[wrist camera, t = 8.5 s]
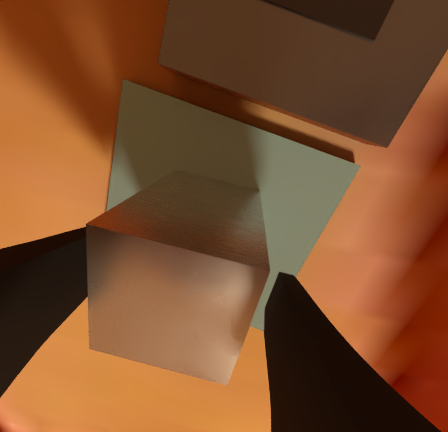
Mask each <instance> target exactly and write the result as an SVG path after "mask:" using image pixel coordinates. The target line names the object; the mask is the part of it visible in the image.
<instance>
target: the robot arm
mask: <svg viewBox="0 0 448 432" xmlns="http://www.w3.org/2000/svg"><path fill="white" fill-rule="evenodd" d="M87 296H88V282H87V245H86V227H83V228H79V229H76V230H72V231H68V232H65V233H61V234H57V235H54V236H50V237H46V238H43V239H39V240H35V241H31V242H27V243H23V244H19V245H15V246H11V247H7V248H2V249H0V398H1V396H2V395H3V394H4V392H5V391H6V390H7V388H8V387H9V386H10V384H11V383H12V382H13V380H14V379H15V378H16V377H17V375H18V374H19V373H20V372H21V370H22V369H23V368H24V367H25V365H26V364H27V363H28V362H29V360H30V359H31V358H32V357H33V355H34V354H35V353H36V352H37V350H38V349H39V348H40V347H41V346H42V344H43V343H44V342H45V341H46V340H47V339H48V338H49V337H50V335H51V334H52V333H53V332H54V331H55V330H56V329H57V328H58V327H59V326H60V325H61V324H62V323H63V322H64V321H65V320H66V319H67V318H68V317H69V315H70V314H71V313H72V312H73V311H74V310H75V309H76V308H77V307H78V306H79V305H80V304H81V303H82V302H83V301H84V300H85V299H86V297H87ZM264 338H265V349H266V359H267V369H268V379H269V389H270V402H271V432H441V431H440V430H439V429H437V428H436V427H435V426H434V425H433V424H432V423H431V422H429V421H428V420H427V419H426V418H425V417H424V416H423V415H421V414H420V413H419V412H418V411H417V410H416V409H415V408H414V407H413V406H412V405H410V404H409V403H408V402H407V401H406V400H405V399H404V398H403V397H402V396H401V395H400V394H398V393H397V392H396V391H395V390H394V389H393V388H392V387H391V386H390V385H389V384H388V383H387V382H386V381H385V380H384V379H383V378H382V377H381V376H380V375H379V374H378V373H377V372H376V371H375V370H374V369H373V368H372V367H371V366H370V365H369V364H368V363H367V362H366V361H365V360H364V359H363V358H362V357H361V356H360V355H359V354H358V353H357V352H356V351H355V350H354V349H353V347H352V346H351V345H350V344H349V343H348V342H347V341H346V340H345V338H344V337H343V336H342V335H341V334H340V333H339V332H338V330H337V329H336V328H335V327H334V326H333V325H332V323H331V322H330V321H329V320H328V318H327V317H326V316H325V315H324V313H323V312H322V311H321V310H320V308H319V307H318V306H317V305H316V303H315V302H314V301H313V299H312V298H311V297H310V295H309V294H308V293H307V291H306V290H305V289H304V288H303V286H302V285H301V284H300V282H299V281H298V280H297V279H296V277H295V276H294V275H291V274H287V273H283V272H279V273H278V276H277V278H276V281H275V283H274V286H273V288H272V291H271V293H270V296H269V298H268V301H267V303H266V306H265V312H264Z"/></svg>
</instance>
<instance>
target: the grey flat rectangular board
mask: <svg viewBox="0 0 448 432" xmlns="http://www.w3.org/2000/svg"><path fill="white" fill-rule="evenodd" d="M447 49H448V0H169V3H168V9H167V15H166V20H165V26H164V32H163V37H162V43H161V49H160V54H159V60H158V64H160V65H161V66H163V67H164V68H166V69H167V70H169V71H171V72H172V73H175V74H177V75H180V76H183V77H186V78H188V79H191V80H194V81H196V82H199V83H202V84H205V85H207V86H210V87H213V88H215V89H218V90H221V91H224V92H226V93H229V94H232V95H234V96H237V97H240V98H243V99H245V100H248V101H251V102H253V103H256V104H259V105H262V106H264V107H267V108H270V109H272V110H275V111H278V112H281V113H283V114H286V115H289V116H291V117H294V118H297V119H300V120H302V121H305V122H308V123H311V124H313V125H316V126H319V127H321V128H324V129H327V130H330V131H332V132H335V133H338V134H340V135H343V136H346V137H349V138H351V139H354V140H357V141H359V142H362V143H365V144H369V145H374V146H380V147H385V148H387V147H388V146H389V144H390V142H391V141H392V139H393V138H394V136H395V134H396V133H397V131H398V129H399V128H400V126H401V124H402V123H403V121H404V120H405V118H406V116H407V115H408V113H409V111H410V110H411V108H412V107H413V105H414V103H415V102H416V100H417V98H418V97H419V95H420V93H421V92H422V90H423V89H424V87H425V85H426V84H427V82H428V80H429V79H430V77H431V76H432V74H433V72H434V71H435V69H436V67H437V66H438V64H439V62H440V61H441V59H442V58H443V56H444V54H445V53H446V51H447Z"/></svg>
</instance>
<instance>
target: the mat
mask: <svg viewBox="0 0 448 432" xmlns="http://www.w3.org/2000/svg"><path fill="white" fill-rule="evenodd" d="M359 168H360V165H357V164H355V163H352V162H349V161H347V160H344V159H341V158H338V157H336V156H333V155H330V154H327V153H325V152H322V151H319V150H316V149H314V148H311V147H308V146H306V145H303V144H300V143H297V142H295V141H292V140H289V139H286V138H284V137H281V136H278V135H275V134H273V133H270V132H267V131H264V130H262V129H259V128H256V127H254V126H251V125H248V124H245V123H243V122H240V121H237V120H234V119H232V118H229V117H226V116H223V115H221V114H218V113H215V112H212V111H210V110H207V109H204V108H202V107H199V106H196V105H193V104H191V103H188V102H185V101H182V100H180V99H177V98H174V97H171V96H169V95H166V94H163V93H161V92H158V91H155V90H152V89H150V88H147V87H144V86H141V85H139V84H136V83H133V82H130V81H128V80H125V79H123V82H122V90H121V98H120V106H119V114H118V122H117V130H116V138H115V146H114V154H113V162H112V170H111V178H110V186H109V194H108V202H107V210H106V211H108V210H110V209H111V208H113V207H114V206H116V205H118V204H119V203H121V202H123V201H124V200H126V199H128V198H129V197H131V196H133V195H134V194H136V193H138V192H139V191H141V190H143V189H144V188H146V187H147V186H149V185H151V184H152V183H154V182H156V181H157V180H159V179H161V178H162V177H164V176H166V175H167V174H169V173H171V172H172V171H174V170H179V171H183V172H187V173H191V174H195V175H199V176H203V177H207V178H211V179H215V180H219V181H223V182H227V183H231V184H235V185H239V186H243V187H247V188H251V189H255V190H259V191H260V195H261V202H262V210H263V218H264V225H265V233H266V241H267V248H268V256H269V264H270V274H269V276H268V279H267V281H266V284H265V287H264V289H263V292H262V295H261V297H260V300H259V303H258V305H257V308H256V311H255V313H254V316H253V319H252V321H251V324H250V326H251V327H254V328H257V329H260V330H263V331H264V312H265V306H266V303H267V301H268V298H269V296H270V293H271V291H272V288H273V286H274V283H275V281H276V278H277V276H278V273H279V272H283V273H287V274H291V275H294V276H295V277H296V276H297V274H298V272H299V271H300V269H301V267H302V266H303V264H304V262H305V260H306V259H307V257H308V255H309V254H310V252H311V250H312V248H313V247H314V245H315V243H316V242H317V240H318V238H319V236H320V235H321V233H322V231H323V230H324V228H325V226H326V224H327V223H328V221H329V219H330V218H331V216H332V214H333V213H334V211H335V209H336V207H337V206H338V204H339V202H340V201H341V199H342V197H343V195H344V194H345V192H346V190H347V189H348V187H349V185H350V183H351V182H352V180H353V178H354V177H355V175H356V173H357V171H358V170H359Z"/></svg>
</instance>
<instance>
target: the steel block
mask: <svg viewBox="0 0 448 432" xmlns="http://www.w3.org/2000/svg"><path fill="white" fill-rule="evenodd" d="M86 245H87V282H88V319H89V349H92V350H95V351H99V352H103V353H107V354H110V355H114V356H118V357H122V358H126V359H129V360H133V361H137V362H141V363H144V364H148V365H152V366H156V367H159V368H163V369H167V370H171V371H174V372H178V373H182V374H186V375H190V376H193V377H197V378H201V379H205V380H208V381H212V382H216V383H220V384H223V385H228V382H229V380H230V377H231V374H232V372H233V369H234V366H235V364H236V361H237V358H238V356H239V353H240V350H241V348H242V345H243V342H244V340H245V337H246V335H247V332H248V329H249V327H250V324H251V321H252V319H253V316H254V313H255V311H256V308H257V305H258V303H259V300H260V297H261V295H262V292H263V289H264V287H265V284H266V281H267V279H268V276H269V274H270V264H269V256H268V248H267V241H266V233H265V225H264V218H263V210H262V202H261V195H260V191H259V190H255V189H251V188H247V187H243V186H239V185H235V184H231V183H227V182H223V181H219V180H215V179H211V178H207V177H203V176H199V175H195V174H191V173H187V172H183V171H179V170H174V171H172V172H171V173H169V174H167V175H166V176H164V177H162V178H161V179H159V180H157V181H156V182H154V183H152V184H151V185H149V186H147V187H146V188H144V189H143V190H141V191H139V192H138V193H136V194H134V195H133V196H131V197H129V198H128V199H126V200H124V201H123V202H121V203H119V204H118V205H116V206H114V207H113V208H111V209H110V210H108V211H106V212H105V213H103V214H101V215H100V216H98V217H96V218H95V219H93V220H91V221H90V222H88V223H86Z"/></svg>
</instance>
